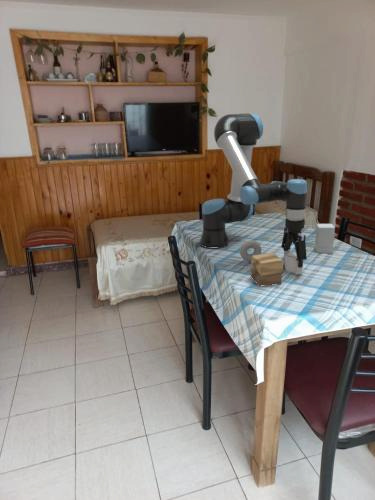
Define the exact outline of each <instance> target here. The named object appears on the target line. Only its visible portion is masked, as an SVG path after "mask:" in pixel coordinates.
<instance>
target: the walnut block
mask: <svg viewBox="0 0 375 500" xmlns="http://www.w3.org/2000/svg"><path fill="white" fill-rule="evenodd" d="M282 275H283V272H281V273H275V274H268V275H262V276H261V275H260V274H259V273H258V272H256V271H255V270H254V269H253V268H252V267H250V278H251V277H252V278H253V279H254V280H255V281H256V282H257V284H258V285H259V286H261V285H270V286H273V285H272V284H278V285H281V284H282V278H283V276H282ZM252 278H251V279H252ZM257 284H256V285H257ZM258 285H257V286H258ZM259 286H258V287H259Z"/></svg>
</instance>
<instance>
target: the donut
mask: <svg viewBox="0 0 375 500" xmlns="http://www.w3.org/2000/svg"><path fill="white" fill-rule="evenodd" d="M251 248H252V249H253V252H252V253H251V254H250V253H248V250H249V249H251ZM262 251H263V249H262V246H261V244H260V243H259V242H258V241H256V240H250V239H249V240H246V241H245V242H243V243H242V244H241V246H240V248H239V255H240V257H241V259H243V260H244V261H245V262H252V256H253V255H260V254H262Z"/></svg>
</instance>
